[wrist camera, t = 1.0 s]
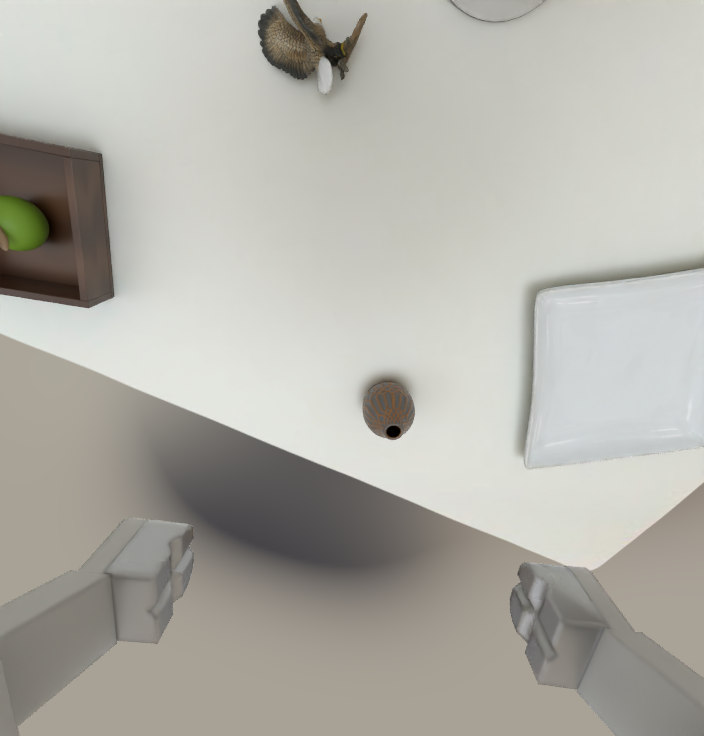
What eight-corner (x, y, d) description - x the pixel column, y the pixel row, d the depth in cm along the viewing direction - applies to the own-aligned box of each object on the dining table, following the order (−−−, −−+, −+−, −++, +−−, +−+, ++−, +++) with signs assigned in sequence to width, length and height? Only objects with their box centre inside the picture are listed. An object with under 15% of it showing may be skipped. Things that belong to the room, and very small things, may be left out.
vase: (360, 416, 54) (364, 455, 46) (362, 374, 51) (366, 407, 43) (407, 417, 54) (419, 455, 46) (411, 374, 51) (424, 407, 43)
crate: (-60, 121, 37) (-117, 110, 33) (102, 153, 39) (70, 148, 34) (-24, 274, 44) (-67, 283, 39) (114, 297, 45) (88, 308, 41)
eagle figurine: (369, -2, 34) (272, -68, 30) (367, 28, 30) (258, -43, 27) (336, 86, 40) (252, 38, 36) (331, 120, 36) (238, 71, 33)
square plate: (744, 252, 45) (778, 256, 42) (689, 433, 57) (712, 449, 53) (524, 284, 46) (540, 291, 43) (514, 456, 58) (525, 473, 54)
